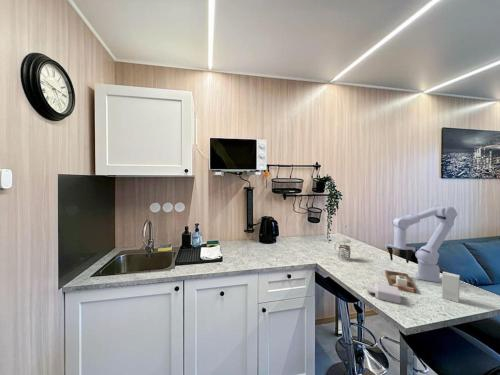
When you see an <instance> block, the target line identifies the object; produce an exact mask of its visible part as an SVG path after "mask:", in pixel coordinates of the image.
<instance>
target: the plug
mask: <svg viewBox="0 0 500 375" xmlns="http://www.w3.org/2000/svg"><path fill="white" fill-rule="evenodd" d="M395 277H396V283H395V285H400V286H405V287H408V286H407V279H406V278H405V277H404V276H402V275H399V276H398V275H396V276H395Z"/></svg>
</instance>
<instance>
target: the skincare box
mask: <svg viewBox="0 0 500 375" xmlns="http://www.w3.org/2000/svg"><path fill="white" fill-rule="evenodd" d="M441 275H442V276H441V297H442V299H445V300H448V301H451V300H452V301H451V302H456V303H458V302H459V303H460V289H461V288H460V285H461V284H460V279H461V278H460V277H461V276H460V274H456V273H452V272H451V273H450V272H447V271H443V272H442V273H441Z"/></svg>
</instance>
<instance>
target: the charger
mask: <svg viewBox="0 0 500 375" xmlns="http://www.w3.org/2000/svg"><path fill="white" fill-rule="evenodd" d="M362 289H363V290H367V292H368V293H371V294H374V297H375V298H376V299H377V298H378V299H377V300H381V301H385V300H386V302H390V303H395V304H399V305H400V304H401V292H400V290H398V287H395V286H390V285H389V284H383V283H380V282H379V283H378V282H376V283H374V286H372V285H367V286H364V285H363V286H362Z"/></svg>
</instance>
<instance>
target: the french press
mask: <svg viewBox="0 0 500 375" xmlns="http://www.w3.org/2000/svg"><path fill="white" fill-rule="evenodd" d="M343 227H344V228H347V224H343ZM340 242H341V243H344V244H340ZM346 243H347V244H346ZM348 243H349V244H350V243H352V241H351V239H349V238H345V237H344V238H343V237H342V238H339V239H338V241H337V244H338V245H339V247H338V250H337V249H336V246H337V244H334V250H335V251H336V252H337V257H336V259H337V260H338V261H340V262H344V263H350V262H352V261H353V260H352V259H351V246H350V245H348Z"/></svg>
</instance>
